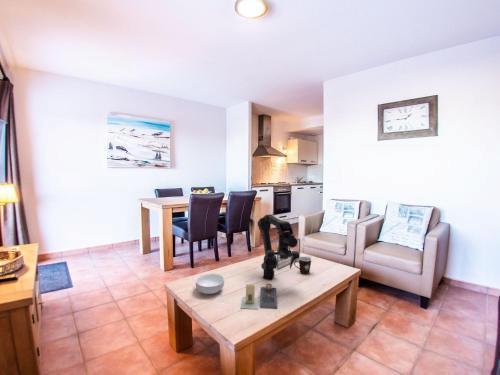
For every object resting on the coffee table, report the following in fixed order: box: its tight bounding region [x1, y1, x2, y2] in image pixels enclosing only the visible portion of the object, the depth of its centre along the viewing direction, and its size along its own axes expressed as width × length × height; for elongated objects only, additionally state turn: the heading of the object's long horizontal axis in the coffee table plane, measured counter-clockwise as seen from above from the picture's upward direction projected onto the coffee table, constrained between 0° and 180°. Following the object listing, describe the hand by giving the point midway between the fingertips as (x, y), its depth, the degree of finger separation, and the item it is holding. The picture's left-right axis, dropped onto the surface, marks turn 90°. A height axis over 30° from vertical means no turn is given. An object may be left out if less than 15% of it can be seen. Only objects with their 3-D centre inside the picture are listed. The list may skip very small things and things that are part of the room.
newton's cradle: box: [271, 237, 301, 270], centre depth 193 cm, size 30×10×18 cm, turn 137°
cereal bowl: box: [195, 273, 225, 295], centre depth 147 cm, size 17×17×7 cm
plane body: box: [259, 282, 278, 309], centre depth 139 cm, size 18×9×6 cm, turn 176°
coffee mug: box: [293, 256, 312, 276], centre depth 175 cm, size 12×9×10 cm
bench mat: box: [240, 296, 260, 310], centre depth 134 cm, size 11×9×1 cm
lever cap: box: [245, 283, 256, 304], centre depth 134 cm, size 3×4×10 cm, turn 86°
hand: (282, 267), depth 150 cm, fingers open, 9 cm apart
